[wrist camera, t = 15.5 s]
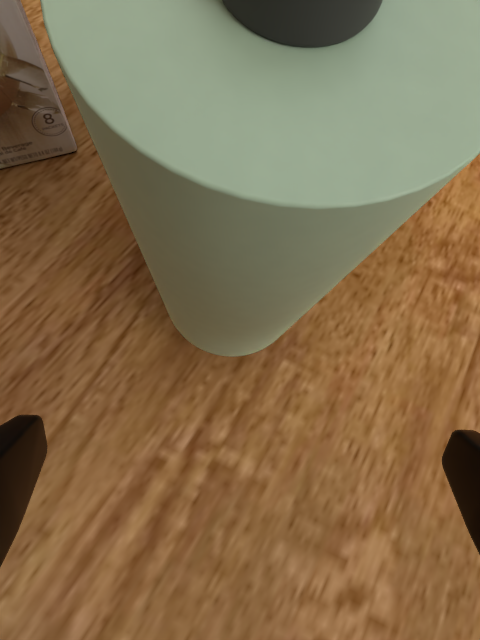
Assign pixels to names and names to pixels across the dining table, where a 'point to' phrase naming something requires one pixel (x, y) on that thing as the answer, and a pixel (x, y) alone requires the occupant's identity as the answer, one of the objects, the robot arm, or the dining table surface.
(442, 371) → the dining table surface
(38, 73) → the coffee box
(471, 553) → the dining table surface
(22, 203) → the dining table surface
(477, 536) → the robot arm
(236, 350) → the mint green lidded canister
